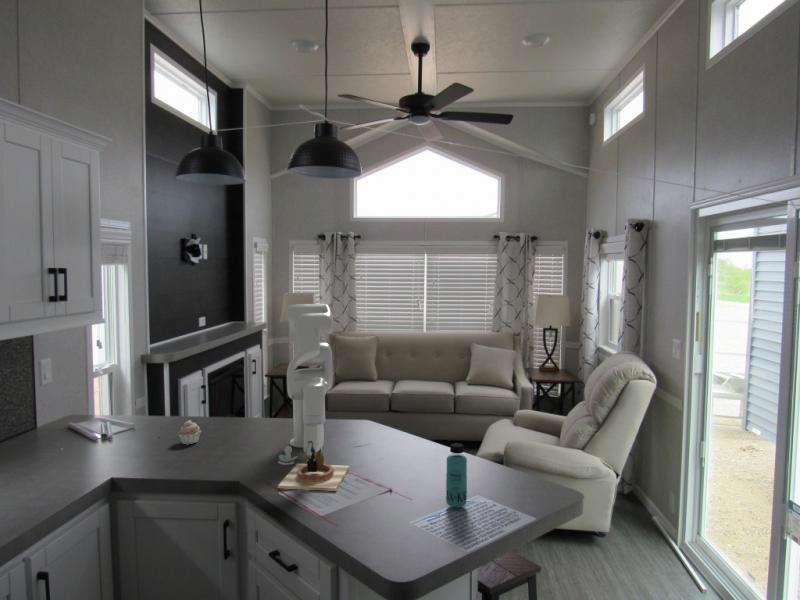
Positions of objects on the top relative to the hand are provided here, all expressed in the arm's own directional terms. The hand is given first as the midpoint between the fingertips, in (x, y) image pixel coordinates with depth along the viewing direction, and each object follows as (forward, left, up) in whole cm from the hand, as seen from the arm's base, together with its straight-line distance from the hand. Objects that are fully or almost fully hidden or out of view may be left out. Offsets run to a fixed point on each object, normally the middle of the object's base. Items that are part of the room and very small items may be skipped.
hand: (315, 467), depth 190 cm
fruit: (0, 0, -1) cm, 1 cm away
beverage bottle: (+17, +50, -4) cm, 53 cm away
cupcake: (-31, -64, -4) cm, 71 cm away
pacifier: (-14, -15, -4) cm, 21 cm away
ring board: (0, 0, -4) cm, 4 cm away
